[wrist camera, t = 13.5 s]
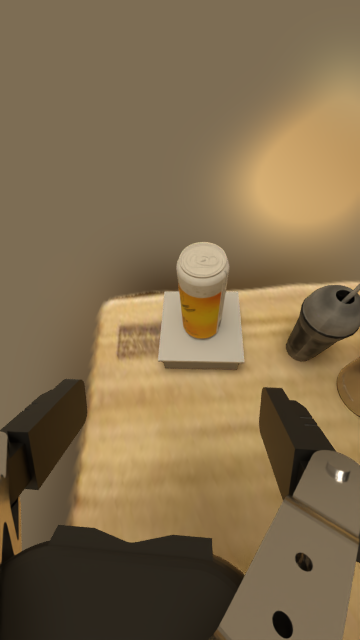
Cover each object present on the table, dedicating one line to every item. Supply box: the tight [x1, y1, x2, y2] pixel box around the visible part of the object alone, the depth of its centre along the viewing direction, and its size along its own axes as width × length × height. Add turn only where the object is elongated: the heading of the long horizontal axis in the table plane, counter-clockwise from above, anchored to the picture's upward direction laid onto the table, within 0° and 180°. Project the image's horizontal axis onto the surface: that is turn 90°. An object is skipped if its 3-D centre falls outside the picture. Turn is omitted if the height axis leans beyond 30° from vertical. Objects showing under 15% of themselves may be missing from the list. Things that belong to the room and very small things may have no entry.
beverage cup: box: [286, 284, 360, 361], centre depth 34 cm, size 7×7×20 cm
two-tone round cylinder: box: [176, 242, 229, 339], centre depth 34 cm, size 6×6×15 cm
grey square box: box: [158, 292, 244, 370], centre depth 43 cm, size 13×13×5 cm
